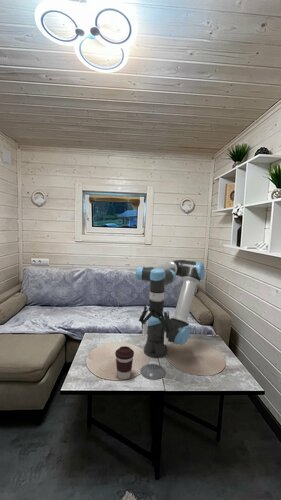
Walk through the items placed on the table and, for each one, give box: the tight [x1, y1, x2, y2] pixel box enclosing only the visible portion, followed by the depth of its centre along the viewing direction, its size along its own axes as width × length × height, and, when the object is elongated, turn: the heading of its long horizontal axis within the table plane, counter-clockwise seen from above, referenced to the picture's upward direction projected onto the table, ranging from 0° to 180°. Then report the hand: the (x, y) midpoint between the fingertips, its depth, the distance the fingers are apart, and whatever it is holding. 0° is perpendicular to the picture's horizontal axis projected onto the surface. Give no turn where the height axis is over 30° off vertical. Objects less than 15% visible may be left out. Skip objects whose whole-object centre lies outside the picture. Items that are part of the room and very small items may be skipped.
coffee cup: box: [114, 345, 135, 380], centre depth 134 cm, size 10×10×15 cm
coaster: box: [140, 363, 167, 381], centre depth 139 cm, size 14×14×1 cm
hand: (154, 339), depth 130 cm, fingers open, 13 cm apart
